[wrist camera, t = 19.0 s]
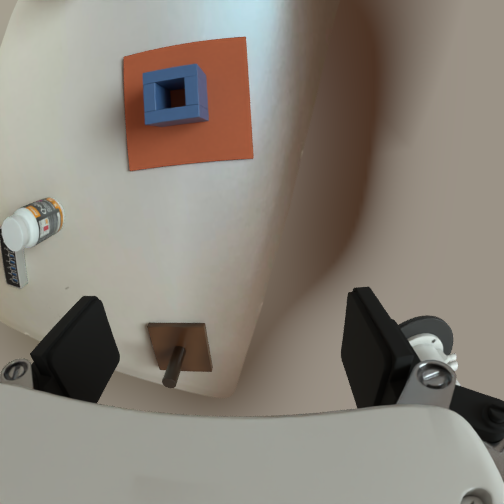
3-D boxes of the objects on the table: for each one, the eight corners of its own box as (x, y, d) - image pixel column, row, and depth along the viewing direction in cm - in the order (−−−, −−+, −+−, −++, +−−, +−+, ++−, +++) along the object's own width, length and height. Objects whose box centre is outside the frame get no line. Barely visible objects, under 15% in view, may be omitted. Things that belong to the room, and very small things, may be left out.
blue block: (206, 75, 31) (196, 63, 26) (209, 121, 34) (199, 117, 28) (159, 82, 32) (142, 73, 26) (161, 127, 34) (144, 125, 28)
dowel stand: (205, 322, 44) (194, 360, 36) (212, 367, 47) (205, 405, 39) (149, 322, 44) (130, 357, 36) (161, 365, 47) (148, 401, 39)
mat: (245, 37, 30) (245, 36, 30) (253, 158, 35) (253, 158, 35) (124, 57, 30) (123, 56, 30) (130, 170, 36) (129, 171, 36)
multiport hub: (13, 278, 43) (6, 284, 40) (6, 223, 39) (-2, 226, 37) (28, 284, 43) (21, 289, 41) (21, 226, 39) (13, 230, 37)
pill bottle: (64, 196, 37) (22, 213, 28) (67, 233, 39) (28, 257, 30) (38, 196, 37) (-4, 212, 28) (41, 231, 39) (2, 253, 30)
